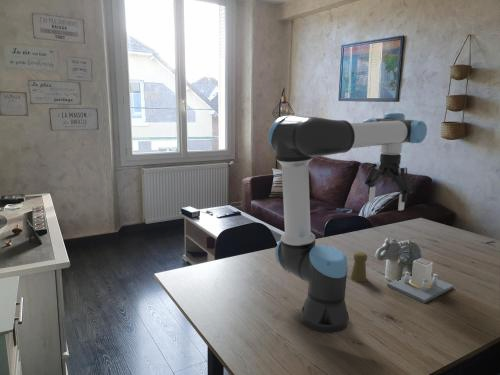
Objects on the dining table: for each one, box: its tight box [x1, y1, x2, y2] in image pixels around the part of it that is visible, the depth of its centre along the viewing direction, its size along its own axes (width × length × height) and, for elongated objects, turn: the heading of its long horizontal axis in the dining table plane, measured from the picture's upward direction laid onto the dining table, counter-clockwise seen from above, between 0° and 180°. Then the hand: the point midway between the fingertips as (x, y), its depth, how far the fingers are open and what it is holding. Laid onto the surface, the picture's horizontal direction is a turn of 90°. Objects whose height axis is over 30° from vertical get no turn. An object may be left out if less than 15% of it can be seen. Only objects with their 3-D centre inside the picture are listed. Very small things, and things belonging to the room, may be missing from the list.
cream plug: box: [411, 258, 434, 288], centre depth 142 cm, size 5×5×9 cm
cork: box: [350, 251, 368, 283], centre depth 148 cm, size 6×6×11 cm
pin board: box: [386, 271, 454, 304], centre depth 142 cm, size 20×15×6 cm
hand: (385, 205), depth 149 cm, fingers open, 13 cm apart
